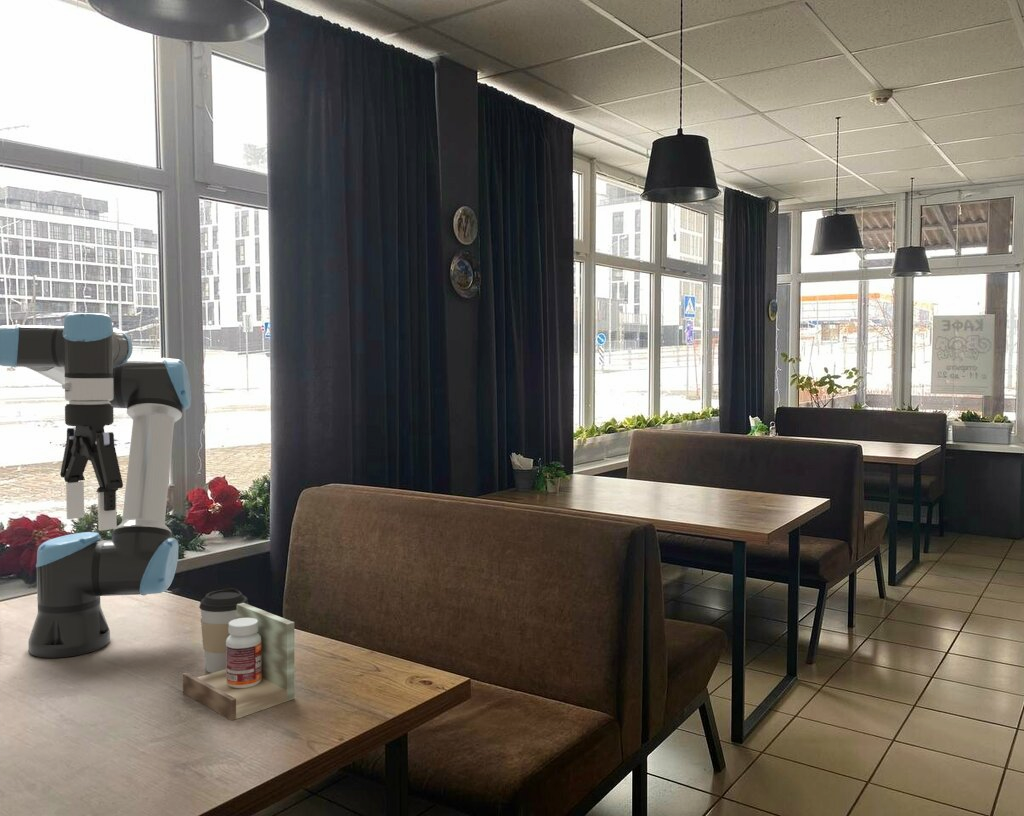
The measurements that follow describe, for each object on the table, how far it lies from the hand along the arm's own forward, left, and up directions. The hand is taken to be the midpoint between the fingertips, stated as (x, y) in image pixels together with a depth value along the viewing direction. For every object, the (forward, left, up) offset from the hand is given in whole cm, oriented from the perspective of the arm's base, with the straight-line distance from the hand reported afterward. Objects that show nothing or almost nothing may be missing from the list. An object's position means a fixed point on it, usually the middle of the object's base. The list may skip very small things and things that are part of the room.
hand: (91, 523), depth 144 cm
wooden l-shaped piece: (+16, +19, -32) cm, 40 cm away
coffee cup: (+2, +24, -32) cm, 40 cm away
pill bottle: (+17, +20, -30) cm, 39 cm away
